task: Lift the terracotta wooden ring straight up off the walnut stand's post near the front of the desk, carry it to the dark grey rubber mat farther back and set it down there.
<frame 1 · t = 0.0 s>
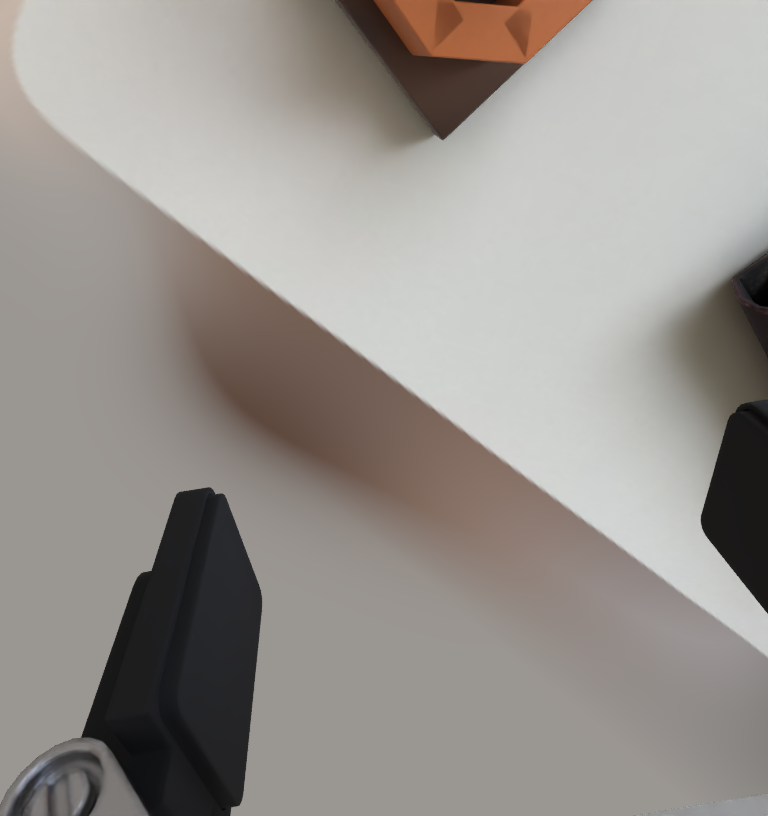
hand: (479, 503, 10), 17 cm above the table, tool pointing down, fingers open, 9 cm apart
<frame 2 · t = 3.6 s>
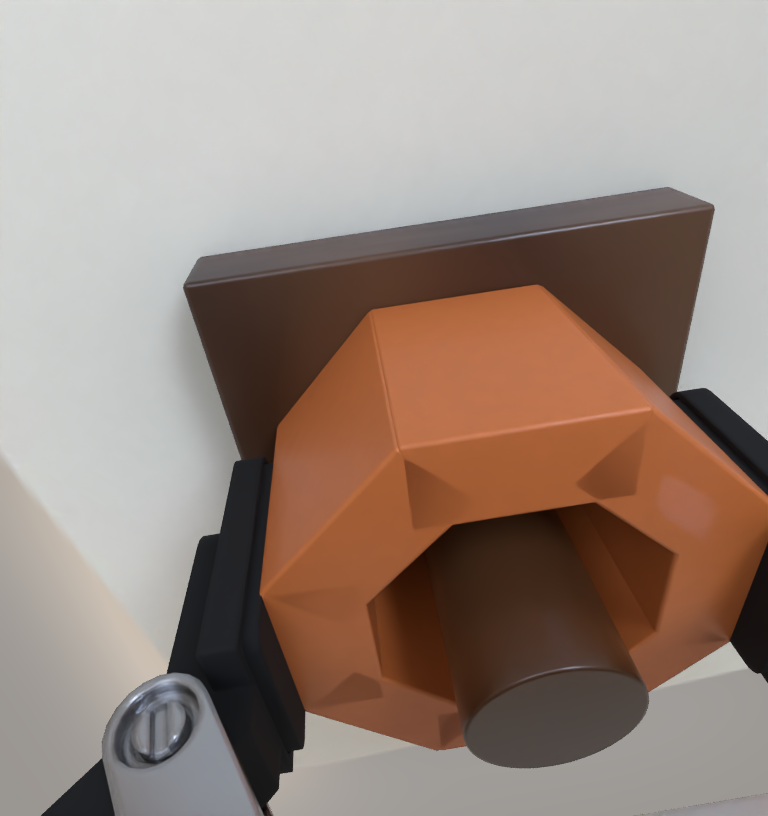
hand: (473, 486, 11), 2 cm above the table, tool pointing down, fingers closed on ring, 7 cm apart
stand: (448, 416, 13), on the table
ring: (462, 456, 12), point 2 cm above the table, touching gripper, stand
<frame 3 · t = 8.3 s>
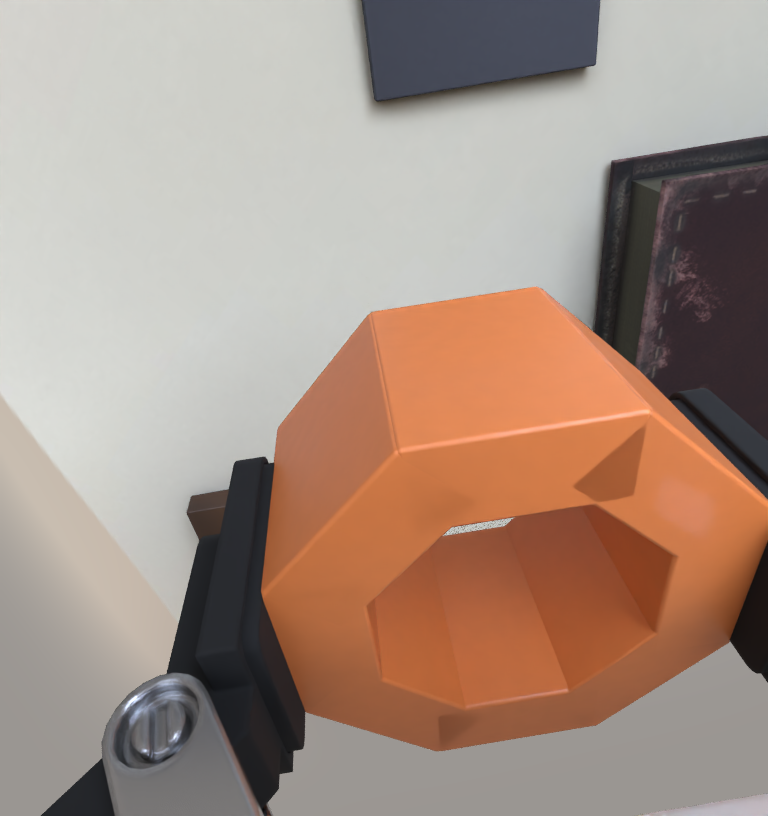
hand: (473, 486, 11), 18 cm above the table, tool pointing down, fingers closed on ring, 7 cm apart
stand: (282, 534, 36), on the table
ring: (462, 457, 12), point 17 cm above the table, touching gripper
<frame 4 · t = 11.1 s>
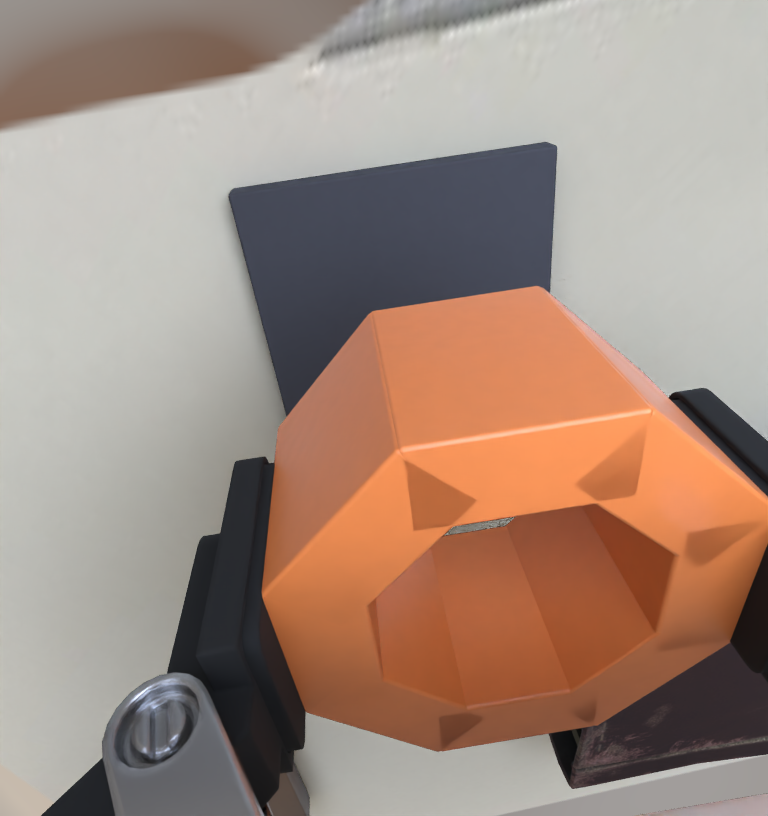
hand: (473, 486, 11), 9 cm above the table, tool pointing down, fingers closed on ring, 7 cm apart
mat: (406, 312, 18), on the table
stand: (221, 776, 33), on the table
ring: (463, 457, 12), point 8 cm above the table, touching gripper
when the fingers open (2 cm above the table, at t = 13.3 s): ring stays where it is, resting on mat.
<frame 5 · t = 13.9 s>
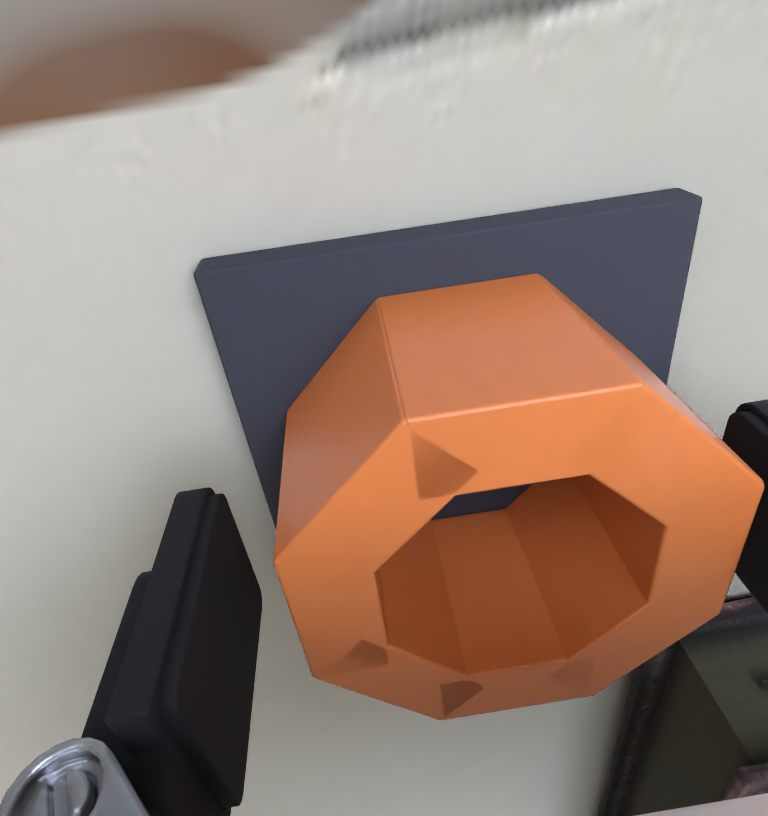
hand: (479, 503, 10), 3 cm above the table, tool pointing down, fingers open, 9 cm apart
mat: (453, 419, 13), on the table
ring: (464, 440, 12), point 1 cm above the table, touching mat
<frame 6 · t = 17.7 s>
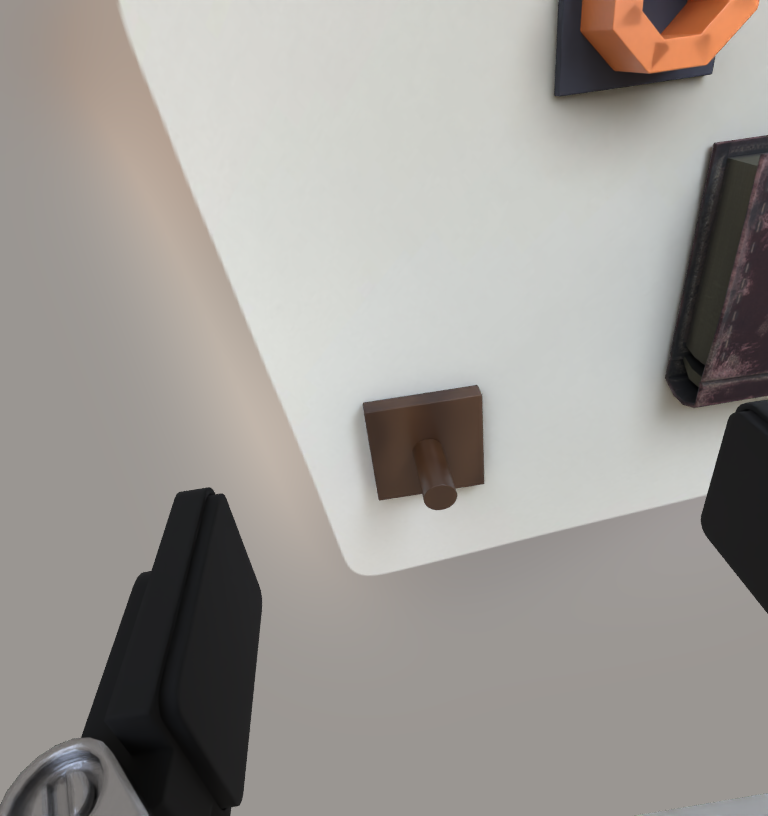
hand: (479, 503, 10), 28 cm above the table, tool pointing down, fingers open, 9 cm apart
stand: (424, 439, 45), on the table
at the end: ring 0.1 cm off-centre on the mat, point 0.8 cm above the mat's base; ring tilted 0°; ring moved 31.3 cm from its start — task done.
